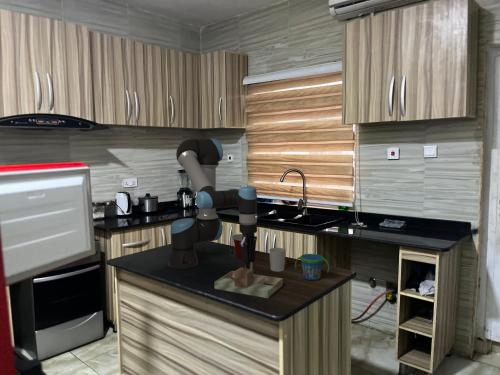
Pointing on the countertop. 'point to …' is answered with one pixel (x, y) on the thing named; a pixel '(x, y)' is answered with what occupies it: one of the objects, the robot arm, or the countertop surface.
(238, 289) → the frame
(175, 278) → the countertop surface
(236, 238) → the plastic cup
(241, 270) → the walnut block
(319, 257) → the snack cup
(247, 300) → the countertop surface
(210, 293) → the countertop surface
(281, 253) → the white cup
